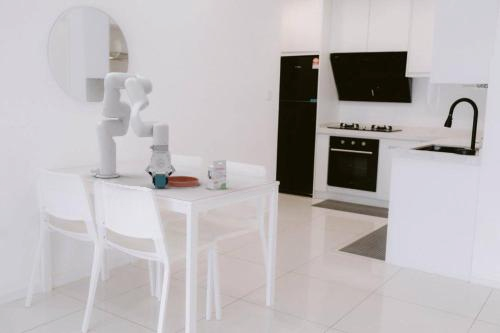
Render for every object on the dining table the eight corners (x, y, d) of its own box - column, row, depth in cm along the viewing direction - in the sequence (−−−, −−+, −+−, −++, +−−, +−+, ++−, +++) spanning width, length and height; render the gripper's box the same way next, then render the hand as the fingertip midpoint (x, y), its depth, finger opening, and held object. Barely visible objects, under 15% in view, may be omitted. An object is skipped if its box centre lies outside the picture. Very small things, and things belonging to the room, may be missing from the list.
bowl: (161, 188, 235) (161, 182, 234) (162, 181, 254) (162, 175, 253) (199, 188, 238) (200, 182, 238) (197, 181, 257) (198, 176, 256)
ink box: (220, 186, 244) (221, 158, 241) (226, 188, 240) (227, 159, 238) (206, 188, 238) (207, 159, 236) (212, 190, 234) (213, 160, 232)
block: (155, 187, 229) (155, 175, 228) (155, 185, 234) (155, 173, 233) (165, 187, 230) (165, 175, 229) (165, 185, 235) (165, 173, 234)
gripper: (142, 149, 224) (142, 186, 227) (178, 149, 227) (177, 186, 230) (143, 147, 232) (143, 183, 234) (178, 147, 235) (177, 183, 237)
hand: (160, 184), depth 232 cm, fingers closed on block, 5 cm apart
